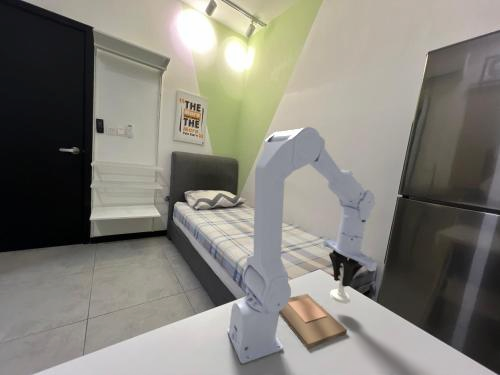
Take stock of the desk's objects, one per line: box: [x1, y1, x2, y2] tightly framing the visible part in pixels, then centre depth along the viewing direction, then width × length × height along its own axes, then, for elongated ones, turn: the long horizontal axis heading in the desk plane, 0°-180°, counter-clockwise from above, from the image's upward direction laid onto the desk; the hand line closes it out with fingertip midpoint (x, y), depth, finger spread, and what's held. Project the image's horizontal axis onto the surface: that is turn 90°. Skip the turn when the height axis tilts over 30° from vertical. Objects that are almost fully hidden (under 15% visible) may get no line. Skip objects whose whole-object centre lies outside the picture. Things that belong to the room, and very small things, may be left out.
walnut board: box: [279, 293, 348, 349], centre depth 50 cm, size 12×14×1 cm
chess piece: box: [329, 263, 351, 304], centre depth 53 cm, size 5×5×10 cm
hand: (341, 282), depth 54 cm, fingers closed on chess piece
